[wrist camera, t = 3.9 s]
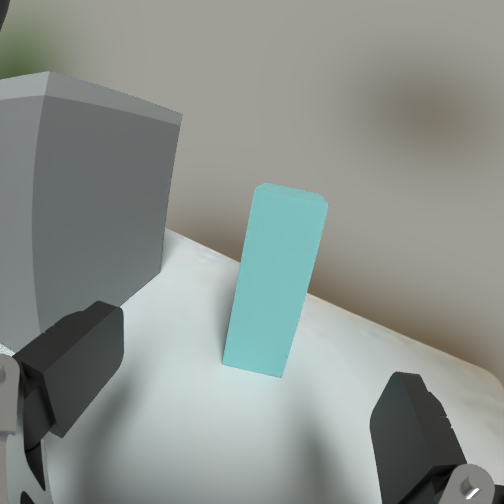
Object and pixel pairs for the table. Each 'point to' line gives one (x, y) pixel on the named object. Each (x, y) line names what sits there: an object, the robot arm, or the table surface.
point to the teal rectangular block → (273, 277)
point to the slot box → (77, 198)
